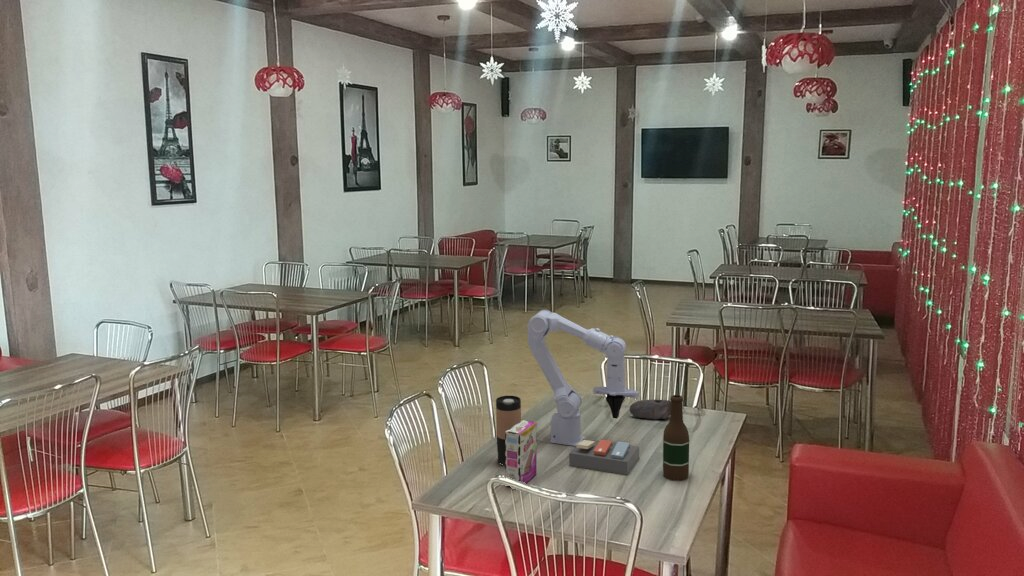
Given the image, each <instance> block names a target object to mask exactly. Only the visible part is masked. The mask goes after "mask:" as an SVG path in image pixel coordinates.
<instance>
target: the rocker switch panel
mask: <svg viewBox="0 0 1024 576" xmlns="http://www.w3.org/2000/svg"><path fill="white" fill-rule="evenodd" d="M583 440H589V441H595V445H594V446H592V447H591V448H589V449H583V448H576V446H574V448H573V449H572V450H571V451H570V452H569V457H568V459H569V464H568V465H569V467H576V468H582V469H585V470H586V469H588V470H593V471H599V472H607V473H612V474H619V475H625V476H628V475H629V473H630V472H631V471H632V469H633V468H634V467H635V465H636V464H637V462H638V461H639V460H640V446H638V445H632V444H631V445H630V446H629V448H628V450H627V452H626V454H625V456H624V458H623V459H618V458H611V454H612V452H613V450H614V448H615V446H616V444H617V442H612V445H611V447H610V448H609V450H608V452H607V453H606V455H605V456H604V455H598V454H594V452H593V451H594V449H595V448H596V446H597V445H598V443H599V441H600V440H598V439H589V438H585V439H583ZM583 440H582V441H583Z"/></svg>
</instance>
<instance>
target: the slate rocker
mask: <svg viewBox="0 0 1024 576" xmlns="http://www.w3.org/2000/svg"><path fill="white" fill-rule="evenodd" d="M616 443H617V444H616V446H615V448H614V450H613V452H612V454H611V458H618V459H623V458H624V456H625V454H626V452H627V450H628V448H629V446H630V442H625V441H624V442H623V441H616Z"/></svg>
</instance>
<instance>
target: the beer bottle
mask: <svg viewBox="0 0 1024 576" xmlns="http://www.w3.org/2000/svg"><path fill="white" fill-rule="evenodd" d="M669 401H671V413H670V416H669V420H668V423H667V424H666V425H665V427H664V430H663V436H662V437H663V438H662V441H663V443H662V474H663V477H664V478H665V477H666V479H668V480H670V481H683V479H684V480H686V479H688V478H689V472H690V469H689V468H690V435H689V434H690V433H689V430H688V428H687V426H686V424H685V423H684V415H683V414H684V412H683V402H684V397H683V395H680V394H673V395H670V400H669Z"/></svg>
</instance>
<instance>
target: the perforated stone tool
mask: <svg viewBox="0 0 1024 576" xmlns="http://www.w3.org/2000/svg"><path fill="white" fill-rule="evenodd" d="M629 412H630V414H631V415H632V416H633V417H635V418H639V419H646V420H655V421H656V420H659V419H660V420H667V419H668V418H670V413H671V400H669V399H644V400H639V401H636V402H633V403H632V404H630V406H629Z"/></svg>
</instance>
